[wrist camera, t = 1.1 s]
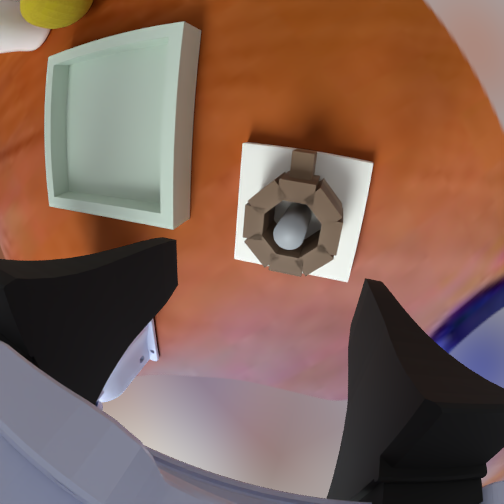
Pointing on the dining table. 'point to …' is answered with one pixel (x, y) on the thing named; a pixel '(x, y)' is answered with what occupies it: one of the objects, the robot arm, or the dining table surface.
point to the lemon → (53, 12)
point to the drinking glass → (18, 29)
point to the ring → (299, 191)
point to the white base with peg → (300, 215)
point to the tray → (123, 125)
